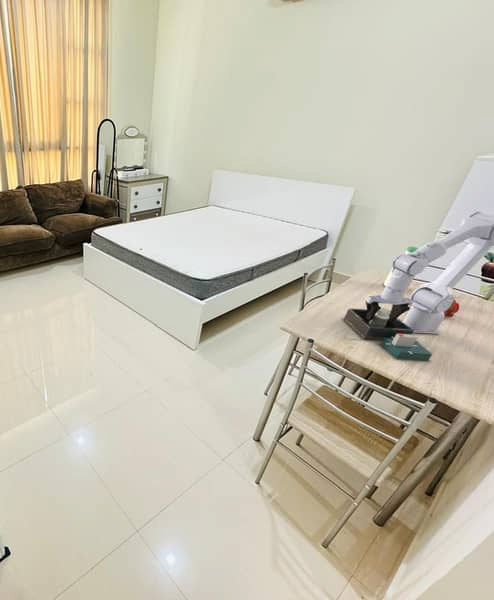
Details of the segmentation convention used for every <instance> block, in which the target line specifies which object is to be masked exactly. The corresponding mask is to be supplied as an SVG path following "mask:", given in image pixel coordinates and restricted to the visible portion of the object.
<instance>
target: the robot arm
mask: <svg viewBox="0 0 494 600" xmlns="http://www.w3.org/2000/svg"><path fill="white" fill-rule="evenodd" d="M466 240H469V243H468V245H466V247H465V248H463V250H462V251H461V252H460V253H459V254H458V255H457V256H456V257H455V258H454V260H453V261H452V262H451V263H450V264H449V265H448V266H447V267H446V268H445V270H443V271H442V272H441V274H440V275H439V276H438V277H437V278H436V279H435V280H434V281H430V282H424V283H423V284H421V285H420V286H419V287H418V288H416V289H414V290H413V291H412V293H411V294H410V297H409V298H408V297H405V295H406V293H407V291H408V290H409V288H410V286H411V284H412V283H413V281H414V279H415V277H416V276H418V275H419V274H421V273H423V272H424V271H425V269H426V268H428V267H429V265H430V264H431V263H432V262H434V261H436V260H438V259H439V258H441V257H443V256H445V255H446V254H447V250H448V249H450V248H452V247H454V246H456V245H458V244H461V243H462V242H464V241H466ZM493 247H494V215H492V214H488V213H483V212H481V211H475V212H472V213H470V214H468V215H467V216H466V217H464V218H463V220H461V223H460V225H459V226H458V227H457V228H455V229H454V230H452V231H451V232H449V233H448V234H447V235H444V237H442V238H441V239H439V240H438V241H429V242H427V243H426V244H424V245H422V246H421V247H418V248H419V249H417V250H415V251H414V252H412V253H410V254H405V253H404V254H405V255H404V254H401V255H399V256H397V257H396V258H395V259H394V260H393V261H392V263H391V265H392V268H393V269H392V268H391V270H392V271H391V270H390V271H391V272H392V275H391V277H390V279H389V281H388V283H387V285H386V286H384V289H383V291H382V292H381V293H380V294H377V295H371V296H368V295H367V297H366V299H365V305H366V309H367V314H366V318H367V319H368V320H369V321H371V320H372V319H373V317H374V316H375V314H376V313H377V312H378V310H380V309H381V308H382V307H381V306H380V304H386V305H387V304H388V305H392V306H391V309H390V312H391V313H390V315H389V319H388V320H390V321H391V322H393V321H394V320H395V319H397V318H398V319H399V317H400V316H402V315H403V314H405V313H407V314H406V316H405V317H404V319H400V320H401V321H402V322H403V323H405V324H406V325H407V326H409V327H410V328H411V329H412V330H414V332H413V333H416V334H417V333H418V334H429V335H430V334H431V335H432V334H433V335H437V334H438V332H437V330H438V329H439V327H440V326H441V325H442V323H443V321H444V320H445V317H446V316H445V315H444V311H446V310H447V309H449V308H450V306H451V304H452V302H453V301H454V300H455V301H456V299H457V295H456V294H455V292H454V288H455V286H456V285H458V283H459V282H461V280H462V279H463V278H464V277H466V275H467V274H468V273H469V272H470V271H471V270H472V269H473V268H474V267H475V266H476V265H477V264H478V263H479V262H480V260H482V258H483V257H484V256H485V255H486V254H487V253H488V252H489V251H490V250H491V249H492V248H493Z"/></svg>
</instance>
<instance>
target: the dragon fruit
mask: <svg viewBox="0 0 494 600" xmlns="http://www.w3.org/2000/svg"><path fill="white" fill-rule="evenodd" d="M459 311H460V304H459V303H458V302H457V300H456V299H455V300H454V301H453V302H452V304H451V306H450V308H449V309H447V310H446V311H444V315H445V316H444V317H446V318H452V317H453V316H454V315H455V314H456V313H458V312H459Z"/></svg>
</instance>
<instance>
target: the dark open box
mask: <svg viewBox="0 0 494 600" xmlns="http://www.w3.org/2000/svg"><path fill="white" fill-rule="evenodd" d="M366 314H367V308H351V307H350V308H348V309H347V311H346V313H345V316H344V317H343V321H344V322H345V323H346V324H347V325H348V326H349V327H350V328H351V329H353V331H354V332H355V333H357V334H358V335H359V336H360V337H361V339H363V340H364V341H365V340H366V341H379V342H382V341H383V339H384V338H392V337H391V336H393V337H394V338H395V336H396V334H398V333H400V334H409V335H413V333H414V330H412V329H411V328H410V327H409V326H407V325H406V324H405V323H403V322H402V321H401V320H402V319H400V318H399V317H398V318H397V319H395V320H394V321H393V322H391V321H390V320H388V321H387V323H386V325H385V327H384V328H381V327H371V326H370V325H369V324H368V323H369V320H368V319H367V318H366Z"/></svg>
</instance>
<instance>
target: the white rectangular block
mask: <svg viewBox="0 0 494 600" xmlns="http://www.w3.org/2000/svg"><path fill="white" fill-rule="evenodd" d="M417 339H418V336H417V335H415V334H412V335H409V334H400V333H398V334H396V336H395V338H394V339H393V341H392V344H393V345H394V346H406V347H412V346H413V344H414V342H415V341H417Z"/></svg>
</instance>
